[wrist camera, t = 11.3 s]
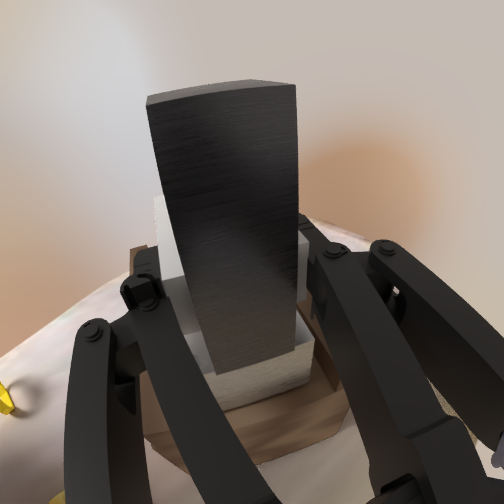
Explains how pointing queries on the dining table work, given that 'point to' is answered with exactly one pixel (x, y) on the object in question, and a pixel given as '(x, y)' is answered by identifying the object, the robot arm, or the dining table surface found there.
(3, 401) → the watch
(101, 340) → the robot arm
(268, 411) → the slot board
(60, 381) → the dining table surface
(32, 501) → the dining table surface
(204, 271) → the dark gray upright block
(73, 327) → the dining table surface
